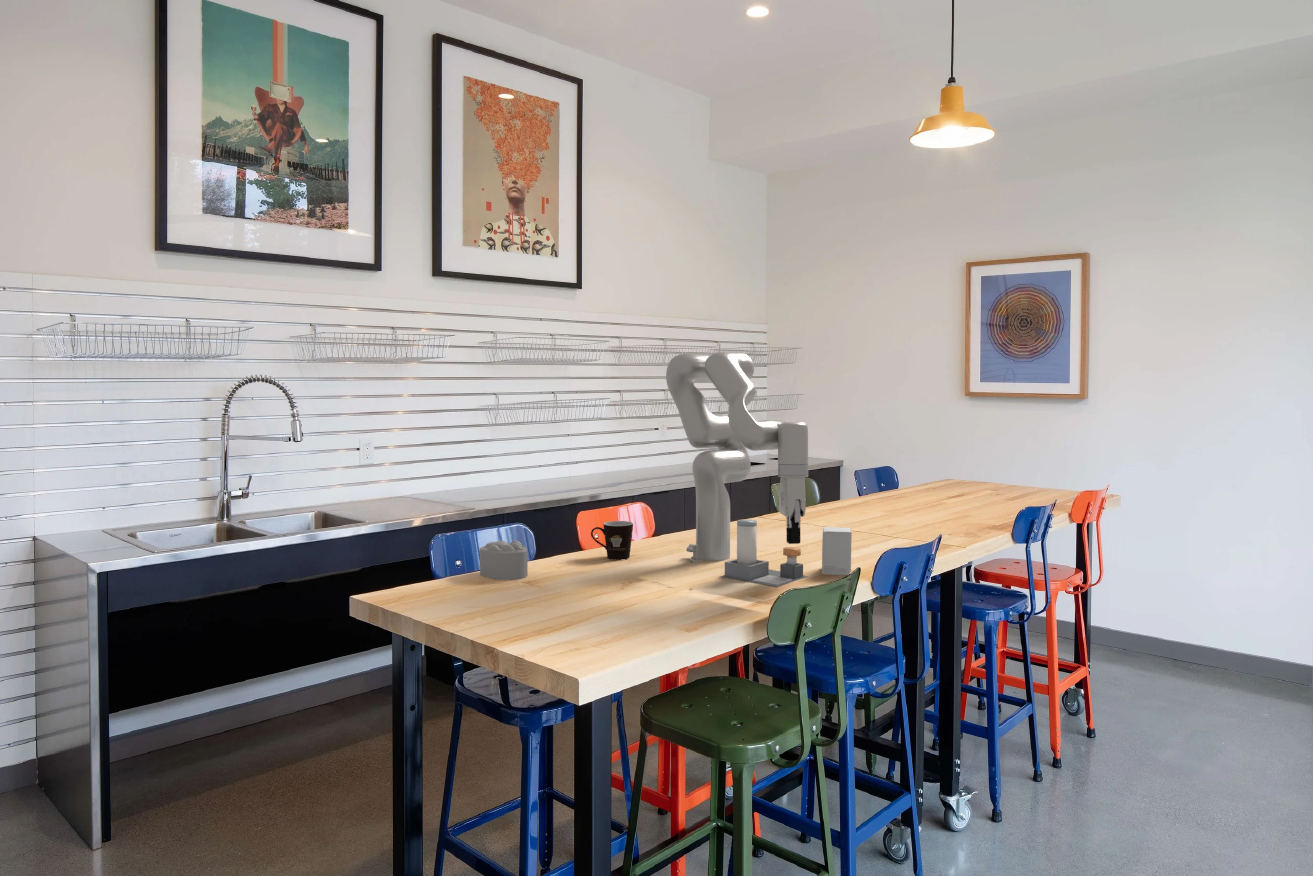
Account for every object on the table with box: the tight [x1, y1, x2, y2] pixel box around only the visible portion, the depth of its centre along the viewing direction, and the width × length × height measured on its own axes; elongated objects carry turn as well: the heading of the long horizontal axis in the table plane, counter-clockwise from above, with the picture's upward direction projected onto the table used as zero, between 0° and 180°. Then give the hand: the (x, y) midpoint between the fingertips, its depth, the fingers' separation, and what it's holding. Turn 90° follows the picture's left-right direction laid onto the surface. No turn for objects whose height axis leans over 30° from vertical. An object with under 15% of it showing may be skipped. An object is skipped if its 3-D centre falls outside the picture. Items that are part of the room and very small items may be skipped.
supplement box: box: [821, 526, 853, 576], centre depth 223 cm, size 7×7×13 cm
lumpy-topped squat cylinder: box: [479, 539, 529, 581], centre depth 226 cm, size 10×13×9 cm
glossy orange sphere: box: [782, 546, 802, 566], centre depth 218 cm, size 4×4×4 cm
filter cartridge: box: [736, 518, 758, 566], centre depth 219 cm, size 5×5×14 cm
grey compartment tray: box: [719, 558, 809, 588], centre depth 218 cm, size 17×15×5 cm
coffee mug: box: [590, 520, 634, 561], centre depth 248 cm, size 12×9×10 cm
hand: (793, 543), depth 217 cm, fingers closed
